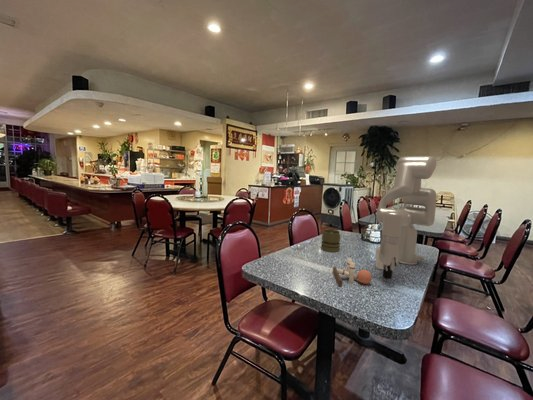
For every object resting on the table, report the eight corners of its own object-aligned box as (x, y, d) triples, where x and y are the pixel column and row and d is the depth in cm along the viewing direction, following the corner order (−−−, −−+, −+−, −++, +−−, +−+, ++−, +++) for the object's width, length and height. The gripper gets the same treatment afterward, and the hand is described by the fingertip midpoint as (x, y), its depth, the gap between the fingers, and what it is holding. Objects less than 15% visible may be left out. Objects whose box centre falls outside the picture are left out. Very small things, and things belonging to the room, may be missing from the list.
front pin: (357, 274, 112) (338, 267, 113) (358, 276, 110) (339, 269, 111) (355, 279, 112) (336, 272, 113) (356, 281, 110) (337, 273, 111)
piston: (340, 230, 159) (340, 234, 148) (339, 248, 160) (339, 253, 149) (323, 228, 162) (321, 232, 151) (322, 246, 163) (320, 251, 152)
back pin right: (350, 276, 115) (351, 258, 114) (351, 278, 113) (352, 259, 112) (345, 276, 115) (346, 257, 114) (346, 278, 113) (347, 259, 112)
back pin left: (352, 281, 110) (354, 262, 109) (354, 283, 108) (355, 263, 107) (347, 280, 110) (349, 261, 109) (348, 282, 108) (350, 263, 107)
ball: (352, 274, 111) (361, 277, 113) (358, 285, 106) (368, 287, 108) (360, 265, 108) (369, 268, 110) (367, 276, 103) (377, 279, 105)
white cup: (381, 271, 123) (383, 252, 122) (370, 265, 131) (372, 247, 130) (394, 269, 125) (395, 251, 124) (383, 264, 133) (384, 246, 132)
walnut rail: (335, 271, 120) (335, 267, 120) (341, 286, 104) (342, 281, 104) (332, 271, 120) (333, 266, 120) (339, 286, 104) (339, 280, 104)
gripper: (376, 234, 116) (373, 271, 118) (388, 243, 101) (384, 285, 103) (392, 235, 115) (389, 272, 117) (407, 244, 100) (403, 286, 102)
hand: (387, 278), depth 110 cm, fingers closed
